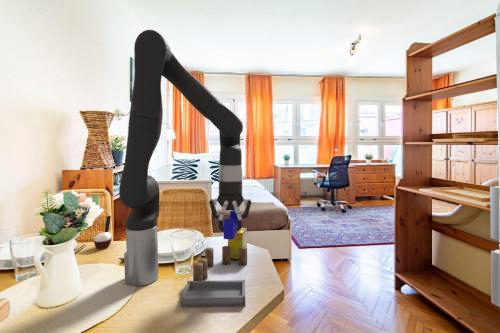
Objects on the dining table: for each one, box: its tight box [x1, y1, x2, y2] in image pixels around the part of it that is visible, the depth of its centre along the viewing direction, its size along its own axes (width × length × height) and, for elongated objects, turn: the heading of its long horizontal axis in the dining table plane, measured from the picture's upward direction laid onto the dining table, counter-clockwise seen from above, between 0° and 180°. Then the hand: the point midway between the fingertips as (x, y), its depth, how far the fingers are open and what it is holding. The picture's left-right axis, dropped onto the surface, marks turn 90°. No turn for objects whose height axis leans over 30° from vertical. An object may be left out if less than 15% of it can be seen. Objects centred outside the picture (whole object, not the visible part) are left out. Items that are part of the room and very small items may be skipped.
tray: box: [180, 279, 246, 308], centre depth 77 cm, size 17×9×2 cm, turn 92°
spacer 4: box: [221, 245, 232, 266], centre depth 98 cm, size 3×3×6 cm
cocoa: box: [93, 215, 112, 250], centre depth 113 cm, size 10×6×12 cm, turn 152°
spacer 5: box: [238, 246, 248, 267], centre depth 98 cm, size 3×3×6 cm
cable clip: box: [222, 210, 238, 240], centre depth 89 cm, size 12×4×6 cm, turn 173°
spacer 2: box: [197, 257, 209, 281], centre depth 88 cm, size 3×3×6 cm
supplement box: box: [227, 227, 248, 262], centre depth 103 cm, size 6×6×11 cm
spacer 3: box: [204, 247, 215, 268], centre depth 97 cm, size 3×3×6 cm
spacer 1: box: [192, 261, 204, 281], centre depth 85 cm, size 3×3×6 cm
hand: (230, 230), depth 89 cm, fingers closed on cable clip, 4 cm apart
